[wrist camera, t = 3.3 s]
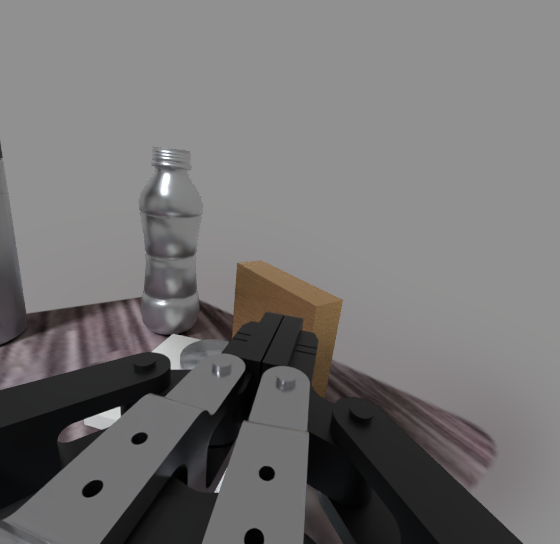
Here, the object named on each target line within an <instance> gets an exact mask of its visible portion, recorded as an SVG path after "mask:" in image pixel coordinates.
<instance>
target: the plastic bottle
mask: <svg viewBox="0 0 560 544" xmlns="http://www.w3.org/2000/svg"><path fill="white" fill-rule="evenodd" d="M152 153H153V154H152V156H153V161H152V166H155V173H154V174H153V176H152V177H151V178H150V179H149V181H148V182H147V183H146V185H145V187H144V188H143V190H142V192H141V194H140V198H139V210H140V215H141V222H142V227H143V233H144V243H145V251H146V255H145V256H146V271H145V285H144V292H143V296H142V301H141V314H142V319H143V322H144V324H145V325H146V326H147V327H148V329H149V330H151V331H153V332H155V333H158V334H166V335H171V334H179V333H183V332H185V331H187V330H189V329H190V328H192V326H193V325H194V324H195V323H196V321H197V318H198V314H199V309H200V307H199V297H198V293H197V284H196V265H195V264H196V252H197V240H198V234H199V229H200V223H201V218H202V217H201V215H202V212H203V203H202V199H201V196H200V194H199V192H198V191H197V189H196V187H195V186H194V184H193V183H192V181H191V179H190V178H189V175H188V171H189V170H191V166H190V152H189V151H185V150H177V149H170V148H162V147H153V149H152Z"/></svg>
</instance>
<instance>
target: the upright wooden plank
mask: <svg viewBox="0 0 560 544" xmlns="http://www.w3.org/2000/svg"><path fill="white" fill-rule="evenodd" d="M342 301H343V300H342V299H340V298H338V297H336V296H333V295H331V294H329V293H327V292H325V291H323V290H321V289H319V288H317V287H315V286H313V285H310V284H309V283H307V282H304V281H302V280H300V279H298V278H296V277H294V276H292V275H290V274H288V273H286V272H284V271H281V270H280V269H277V268H275V267H273V266H271V265H269V264H267V263H265V262H263V261H252V262H242V263H237V274H236V289H235V303H234V317H233V331H232V339H233V337H234V335H235V334H236V333H237V331H238V330H239V329H240V327H241V326H242V325H244V324H246V323H248V322H250V321H254V322H260V320H261V319H262V317H263V316H264V314H265V313H266V312H271V313H277V314H282V315H284V317H285V315H288V316H293V317H299V318H303V328H302V331H307V332H312V333H315V335H316V337H317V338H318V340H319V341H318V348H317V354H316V361H315V367H314V374H313V379H312V386H313V388H314V390H315V391H316V392H317V394H319V395H320V396H321V397H322V398H324V399H325V393H326V388H327V383H328V377H329V372H330V366H331V361H332V356H333V349H334V345H335V339H336V334H337V328H338V323H339V317H340V312H341V306H342ZM228 343H229V342H227V341H224V340H217V339H207V340H200V341H197V342H194V343H191V344H189V345H188V346H186V347H185V348H184V349H183V350H182V352H181V354H180V370H189V369H193V368H194V367H195V366H196V365H197V364H198V363H199V362H200V361H201V360H202V359H204V358H205V357H207V356H210V355H214V354H221V352H222V351H223V350H224V349H225V347H226V346H227V345H228Z"/></svg>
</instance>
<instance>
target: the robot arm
mask: <svg viewBox="0 0 560 544" xmlns="http://www.w3.org/2000/svg"><path fill="white" fill-rule="evenodd" d="M0 158H3V157H2V151H1V144H0ZM7 191H8V190H7V183H6V176H5V170H4V163H3V160H2V159H0V345H1V344H3V343H5V342H8V341H9V340H11V339H13V338H15V337H17V336H18V335H19V334H21V333H22V332H23V331H24V330H25V329H26V327H27V324H28V323H27V316H26V310H25V303H24V296H23V288H22V282H21V275H20V268H19V261H18V255H17V248H16V241H15V235H14V228H13V221H12V215H11V208H10V202H9V196H8V192H7ZM302 328H303V318H299V317H293V316H288V315H285V317H284V315H282V314H277V313H271V312H266V313H265V314H264V316H263V317H262V319H261V320H260V322H254V321H250V322H248V323H246V324H244V325H242V326H241V327H240V329H239V330H238V331H237V333H236V334H235V335H234V337H233V339H231V341H230V342H229V343H228V345H227V346H226V347H225V349H224V350H223V351H222V352H221V354H214V355H210V356H207V357H205V358H204V359H202V360H201V361H200V362H199V363H198V364H197V365H196V366H195V367H194V368H193V369H189V370H171V362H170V359H169V358H168V357H167V356H165V355H163V354H160V353H155V352H146V353H140V354H136V355H132V356H128V357H124V358H121V359H117V360H113V361H109V362H105V363H102V364H98V365H94V366H90V367H87V368H83V369H79V370H75V371H72V372H68V373H64V374H60V375H56V376H53V377H49V378H45V379H41V380H38V381H34V382H30V383H26V384H22V385H19V386H15V387H11V388H7V389H4V390H0V544H316V543H315V542H314V541H313V540H312V539H311V538H310V537H309V536H307V535H306V534H305V533H304V520H305V501H306V483H307V484H309V485H310V486H312V487H313V488H315V489H317V490H318V498H319V501H320V504H321V506H322V508H323V509H324V511H325V513H326V515H327V516H328V518H329V520H330V521H331V523H332V525H333V527H334V528H335V530H336V532H337V533H338V535H339V537H340V539H341V540H342V542H343V544H523V543H522V542H521V541H520V540H519V539H518V538H517V537H516V536H515V535H514V534H512V533H511V532H510V531H509V530H508V529H507V528H506V527H505V526H504V525H503V524H502V523H501V522H500V521H499V520H498V519H497V518H496V517H494V516H493V515H492V514H491V513H490V512H489V511H488V510H487V509H486V508H485V507H484V506H483V505H482V504H481V503H479V501H478V500H477V499H475V498H474V497H473V496H472V495H471V494H470V493H469V492H468V491H467V490H466V489H465V488H464V487H463V486H462V485H461V484H460V483H459V482H457V481H456V480H455V479H454V478H453V477H452V476H451V475H450V474H449V473H448V472H447V471H446V470H445V469H444V468H443V467H442V466H441V465H440V464H438V463H437V462H436V461H435V460H434V459H433V458H432V457H431V456H430V455H429V454H428V453H427V452H426V451H425V450H424V449H423V448H422V447H421V446H419V445H418V444H417V443H416V442H415V441H414V440H413V439H412V438H411V437H410V436H409V435H408V434H407V433H406V432H405V431H404V430H403V429H401V428H400V427H399V426H398V425H397V424H396V423H395V422H394V421H393V420H392V419H391V418H390V417H389V416H388V415H387V414H386V413H385V412H384V411H382V410H381V409H380V408H379V407H378V406H377V405H375V404H374V403H372V402H370V401H368V400H365V399H362V398H357V397H345V398H342V399H340V400H338V401H337V402H336V403H335V404H333V403H331V402H329V401H327V400H325V399H324V398H322V397H321V396H320V395H319V394H317V392H316V391H315V390H314V388H313V386H312V379H313V374H314V367H315V361H316V354H317V348H318V341H319V340H318V338H317V337H316V335H315V333H312V332H307V331H302ZM117 407H120V412H121V417H120V418H119V419H118V420H117V421H116V422H115V423H113V424H112V425H111V426H110V427H108V428H105V429H102V430H100V431H97V432H95V433H92V434H90V435H87V436H84V437H82V438H79V439H77V440H74V441H71V442H67V443H61V442H58V441H57V439H58V436H59V434H60V433H61V431H62V430H63V429H65V428H66V427H67V426H69V425H70V424H72V423H75V422H78V421H80V420H83V419H86V418H89V417H92V416H95V415H97V414H100V413H103V412H106V411H109V410H111V409H114V408H117ZM226 469H227V470H226ZM225 471H226V473H225V476H224V479H223V482H222V485H221V488H220V491H219V493H214V492H215V490H216V488H217V486H218V484H219V482H220V480H221V478H222V476H223V474H224V472H225Z"/></svg>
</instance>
